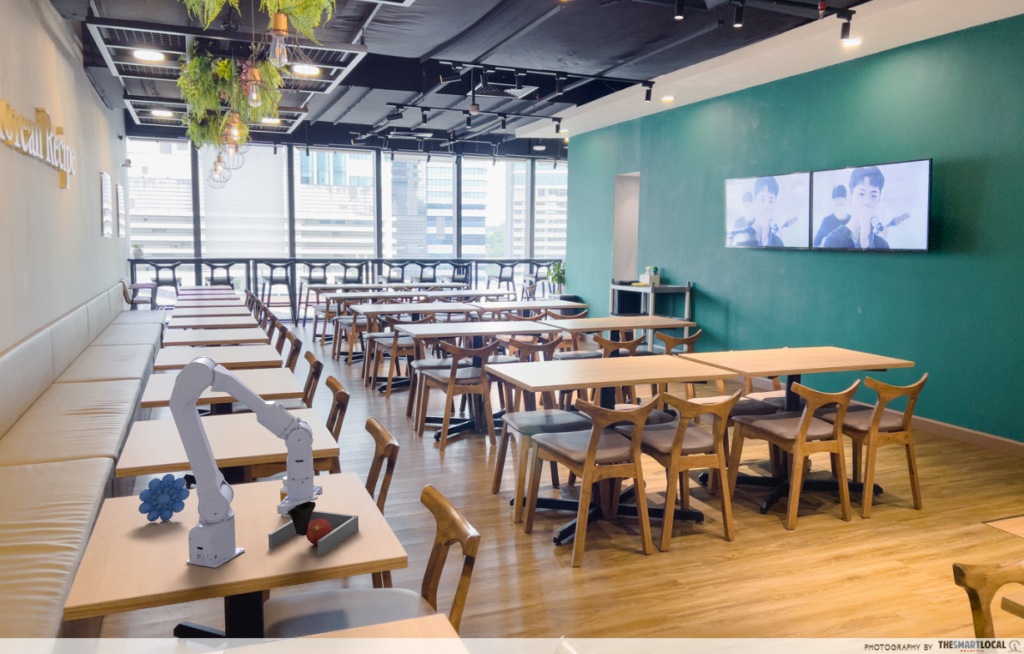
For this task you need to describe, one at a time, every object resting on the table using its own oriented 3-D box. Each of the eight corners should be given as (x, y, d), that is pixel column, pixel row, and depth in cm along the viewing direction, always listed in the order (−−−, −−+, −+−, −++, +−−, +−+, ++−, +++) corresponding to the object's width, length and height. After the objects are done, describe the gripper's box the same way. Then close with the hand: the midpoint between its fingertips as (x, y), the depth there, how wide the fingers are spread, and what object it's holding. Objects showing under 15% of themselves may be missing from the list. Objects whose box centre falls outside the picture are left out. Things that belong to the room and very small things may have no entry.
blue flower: (191, 512, 183) (189, 467, 182) (190, 521, 177) (188, 474, 176) (141, 518, 179) (139, 472, 178) (138, 527, 173) (135, 479, 171)
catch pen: (321, 556, 156) (320, 541, 155) (268, 548, 160) (268, 534, 160) (358, 529, 171) (358, 515, 171) (310, 523, 175) (309, 509, 175)
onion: (310, 546, 157) (314, 552, 164) (335, 533, 159) (337, 539, 166) (299, 523, 158) (303, 530, 165) (323, 510, 160) (326, 518, 168)
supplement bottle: (299, 518, 179) (297, 480, 178) (277, 517, 179) (276, 480, 178) (305, 510, 184) (304, 474, 183) (285, 510, 184) (283, 474, 183)
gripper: (296, 487, 151) (297, 549, 152) (333, 469, 165) (334, 525, 166) (268, 484, 153) (270, 545, 155) (307, 466, 167) (308, 521, 168)
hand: (301, 534), depth 160 cm, fingers closed, pressing on onion
